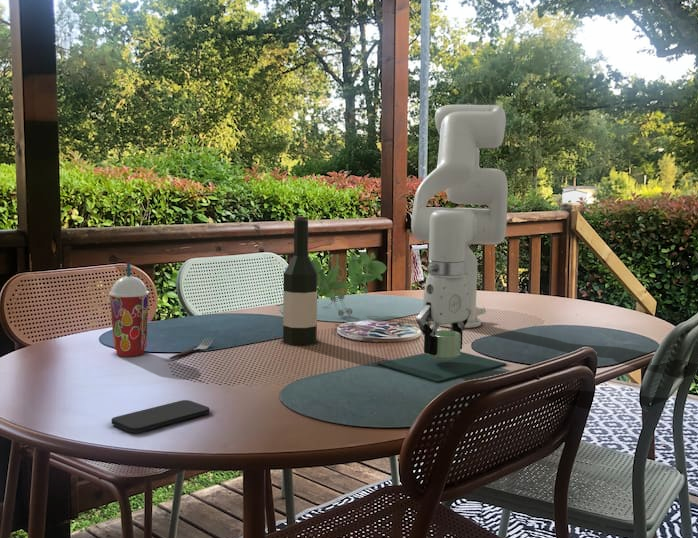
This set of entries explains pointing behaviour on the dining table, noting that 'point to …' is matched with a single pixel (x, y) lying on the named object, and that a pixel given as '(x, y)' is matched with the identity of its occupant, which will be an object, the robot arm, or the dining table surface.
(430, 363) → the placemat
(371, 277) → the plant cuttings
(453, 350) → the bowl
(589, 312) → the dining table surface
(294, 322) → the wine bottle
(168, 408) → the phone
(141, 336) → the smoothie
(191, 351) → the fork
